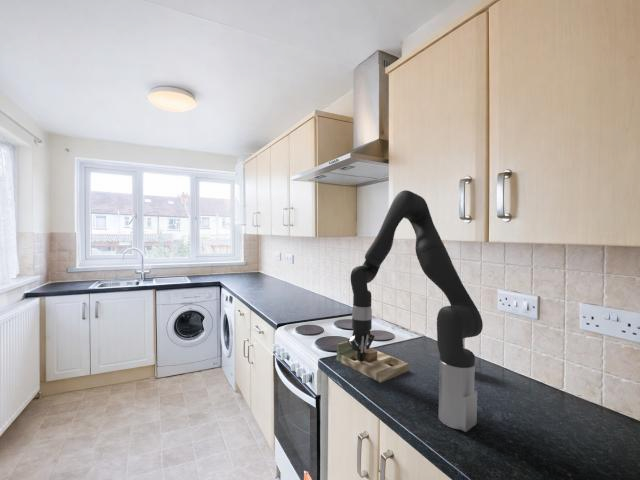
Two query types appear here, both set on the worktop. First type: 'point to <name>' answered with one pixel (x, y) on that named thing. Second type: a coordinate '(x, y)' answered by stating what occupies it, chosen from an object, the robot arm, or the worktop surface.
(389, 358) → the tray
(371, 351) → the walnut block
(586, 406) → the worktop surface
